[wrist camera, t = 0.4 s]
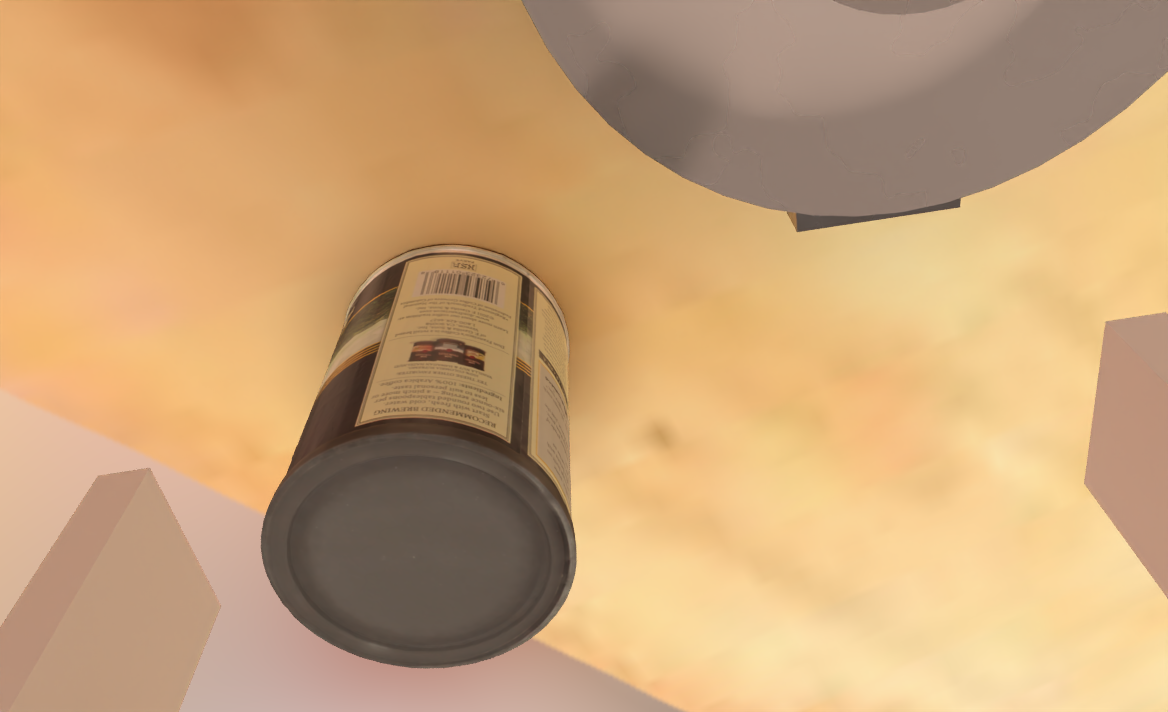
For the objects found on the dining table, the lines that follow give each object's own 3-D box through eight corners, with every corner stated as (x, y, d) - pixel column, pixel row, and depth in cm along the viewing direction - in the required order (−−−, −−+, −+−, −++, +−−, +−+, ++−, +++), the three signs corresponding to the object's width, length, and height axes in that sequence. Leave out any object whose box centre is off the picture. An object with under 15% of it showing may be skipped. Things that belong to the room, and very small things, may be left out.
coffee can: (396, 461, 47) (339, 697, 35) (305, 279, 42) (201, 481, 30) (599, 409, 46) (613, 635, 34) (531, 214, 41) (518, 398, 28)
